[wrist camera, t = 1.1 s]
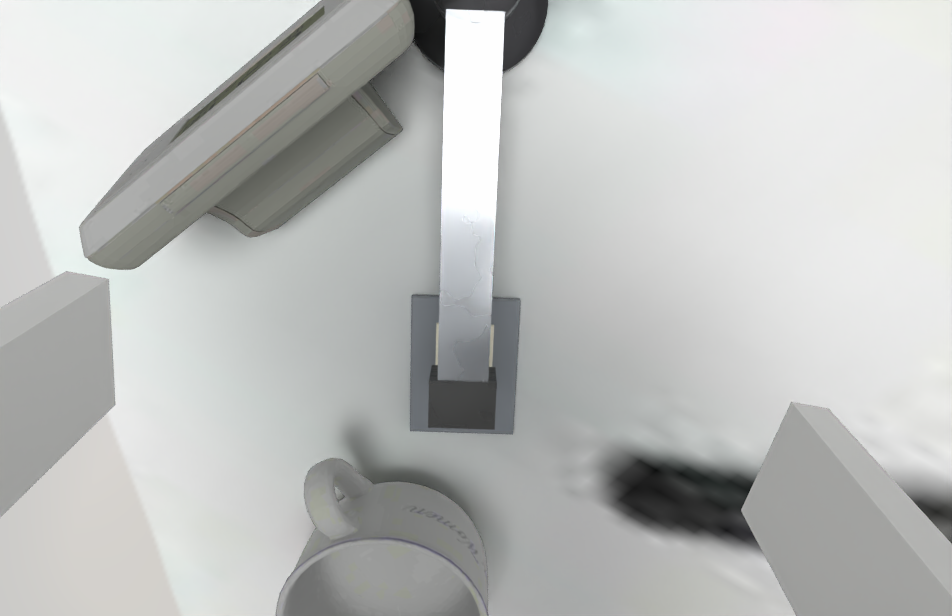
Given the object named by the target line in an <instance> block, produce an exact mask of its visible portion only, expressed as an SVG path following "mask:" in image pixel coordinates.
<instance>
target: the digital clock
mask: <svg viewBox="0 0 952 616" xmlns="http://www.w3.org/2000/svg"><path fill="white" fill-rule="evenodd" d="M414 28H415V26H414V14H413V10H412V7H411V4H410V2H409V0H321V1H320V2H319V3H318V4H316V5H315V6H314V7H313V8H312V9H311V10H309V11H308V12H307V13H306V14H305V15H303V16H302V17H301V18H300V19H299V20H298V21H296V22H295V23H294V24H293V25H292V26H290V27H289V28H288V29H287V30H286V31H284V32H283V33H282V34H281V35H280V36H279V37H277V38H276V39H275V40H274V41H273V42H271V43H270V44H269V45H268V46H267V47H266V48H264V49H263V50H262V51H261V52H260V53H258V54H257V55H256V56H255V57H254V58H252V59H251V60H250V61H249V62H248V63H247V64H245V65H244V66H243V67H242V68H241V69H239V70H238V71H237V72H236V73H235V74H233V75H232V76H231V77H230V78H229V79H228V80H226V81H225V82H224V83H223V84H222V85H220V86H219V87H218V88H217V89H216V90H215V91H213V92H212V93H211V94H210V95H209V96H207V97H206V98H205V99H204V100H203V101H201V102H200V103H199V104H198V105H197V106H196V107H194V108H193V109H192V110H191V111H190V112H188V113H187V114H186V115H185V116H184V117H183V118H181V119H180V120H179V121H178V122H177V123H175V124H174V125H173V126H172V127H171V128H169V129H168V130H167V131H166V132H165V133H164V134H162V135H161V136H160V137H159V138H158V139H156V140H155V141H154V142H153V143H152V144H151V145H149V146H148V147H147V148H146V149H145V150H144V151H143V152H142V153H141V155H139V156H138V157H137V158H136V160H135V161H134V162H133V163H132V164H131V165H130V166H129V168H128V169H127V170H126V171H125V172H124V173H123V175H122V176H121V177H120V178H119V179H118V181H117V182H116V183H115V184H114V185H113V186H112V188H111V189H110V190H109V191H108V192H107V194H106V195H105V196H104V197H103V198H102V199H101V201H100V202H99V203H98V204H97V205H96V206H95V208H94V209H93V210H92V211H91V212H90V214H89V215H88V216H87V217H86V218H85V220H84V221H83V222H82V223H81V225H80V227H79V230H80V237H81V243H82V247H83V252H84V256H85V258H88V260H89V261H91V262H93V263H94V264H96V265H99V266H102V267H105V268H110V269H119V270H129V269H135V268H137V267H139V266H140V265H141V264H143V263H144V262H145V261H147V260H148V259H149V258H150V257H152V256H153V255H154V254H155V253H157V252H158V251H159V250H160V249H162V248H163V247H164V246H165V245H167V244H168V243H169V242H170V241H172V240H173V239H174V238H175V237H177V236H178V235H179V234H180V233H182V232H183V231H184V230H185V229H187V228H188V227H189V226H190V225H192V224H193V223H194V222H195V221H196V220H198V219H199V218H200V217H201V216H203V215H204V214H205V213H206V212H207V213H209V214H212V215H214V216H216V217H218V218H220V219H222V220H224V221H226V222H228V223H229V224H231V225H232V226H234V227H235V228H236V229H237V230H238V231H240V232H241V233H242V234H244V235H245V236H248V237H257V236H260V235H262V234H265V233H267V232H270V231H272V230H275V229H278V228H279V227H280V226H281V225H283V224H284V223H285V222H287V221H288V220H289V219H290V218H292V217H293V216H294V215H295V214H297V213H298V212H299V211H301V210H302V209H303V208H304V207H306V206H307V205H308V204H309V203H311V202H312V201H313V200H315V199H316V198H317V197H318V196H320V195H321V194H322V193H323V192H325V191H326V190H327V189H329V188H330V187H331V186H332V185H334V184H335V183H336V182H337V181H339V180H340V179H341V178H343V177H344V176H345V175H346V174H348V173H349V172H350V171H351V170H353V169H354V168H355V167H357V166H358V165H359V164H360V163H362V162H363V161H364V160H365V159H367V158H368V157H369V156H371V155H372V154H373V153H374V152H376V151H377V150H378V149H379V148H381V147H382V146H383V145H385V144H386V143H387V142H388V141H390V140H391V139H392V138H393V137H395V136H396V135H397V134H399V133H400V132H401V131H402V130H403V128H402V126H401V125H400V123H399V122H398V121H397V119H396V118H395V117H394V115H393V114H392V113H391V111H390V110H389V108H388V107H387V106H386V104H385V103H384V102H383V100H382V99H381V98H380V96H379V95H378V94H377V92H376V91H375V90H374V88H373V87H372V85H371V84H370V83H369V81H370V80H371V79H372V78H373V77H375V76H376V75H377V74H378V73H379V72H381V71H382V70H383V69H384V68H386V67H387V66H388V65H389V64H390V63H392V62H393V61H394V60H395V59H397V58H398V57H399V56H400V55H401V54H402V53H404V52H405V51H406V50H407V49H408V48H409V47H410V45H411V44H412V42H413V38H414Z"/></svg>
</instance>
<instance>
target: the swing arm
mask: <svg viewBox="0 0 952 616" xmlns="http://www.w3.org/2000/svg"><path fill="white" fill-rule="evenodd" d="M434 2H435V5H436V7H437V9H438V10H439V12H440V13H441V15H442V16H443V17H444V18H445V19H446V34H445V77H444V121H443V164H442V207H441V251H440V294H439V338H438V365H432V367H431V372H430V377H429V401H428V428H456V429H487V430H495V411H496V391H497V379H496V369H495V367H489V356H490V333H491V311H492V288H493V266H494V244H495V221H496V199H497V176H498V154H499V131H500V109H501V87H502V64H503V42H504V22H505V21H506V20H508V18H509V17H510V16H511V15H512V14H513V12H514V11H515V9H516V7H517V5H518V3H519V0H434Z"/></svg>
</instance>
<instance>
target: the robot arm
mask: <svg viewBox="0 0 952 616" xmlns="http://www.w3.org/2000/svg"><path fill="white" fill-rule="evenodd" d="M114 406H115V388H114V369H113V349H112V330H111V311H110V292H109V279H106V278H101V277H95V276H90V275H84V274H79V273H73V272H68V271H66V272H64V273H62V274H60V275H59V276H57V277H55V278H53V279H51V280H50V281H48V282H46V283H44V284H42V285H41V286H39V287H37V288H35V289H33V290H31V291H30V292H28V293H26V294H24V295H23V296H21V297H19V298H17V299H15V300H13V301H11V302H10V303H8V304H6V305H4V306H3V307H1V308H0V517H1V516H2V515H3V514H4V513H5V512H6V511H7V510H8V509H9V508H10V507H11V506H13V505H14V503H16V502H17V501H18V500H19V498H21V497H22V496H23V495H24V494H25V493H26V492H27V491H28V490H29V489H30V488H31V487H32V486H33V485H34V484H35V483H36V482H37V481H38V480H39V479H40V478H41V477H42V476H43V475H44V474H45V473H46V472H47V471H48V470H49V469H50V468H51V467H52V466H53V465H54V464H55V463H56V462H57V461H58V460H59V459H60V458H61V457H62V456H64V454H66V452H67V451H69V450H70V449H71V448H72V447H73V446H74V445H75V444H76V443H77V442H78V441H79V440H80V439H81V438H82V437H83V436H84V435H85V434H86V433H87V432H88V431H89V430H90V429H91V428H92V427H93V426H94V425H95V424H96V423H97V422H98V421H99V420H100V419H101V418H102V417H103V416H104V415H105V414H106V413H107V412H108V411H109V410H110V409H111V408H112V407H114ZM741 512H742V514H743V515H744V517H745V519H746V521H747V523H748V525H749V527H750V529H751V531H752V533H753V534H754V536H755V538H756V540H757V542H758V544H759V546H760V548H761V550H762V551H763V553H764V555H765V557H766V559H767V561H768V563H769V565H770V567H771V568H772V570H773V572H774V574H775V576H776V578H777V580H778V582H779V584H780V585H781V587H782V589H783V591H784V593H785V595H786V597H787V599H788V601H789V603H790V604H791V606H792V608H793V610H794V612H795V614H796V616H952V544H951V543H950V542H949V541H948V539H947V538H946V537H945V536H944V535H943V534H942V533H941V532H940V531H939V530H938V528H937V527H936V526H935V525H934V524H933V523H932V522H931V521H930V520H929V519H928V517H927V516H926V515H925V514H924V513H923V512H922V511H921V510H920V509H919V508H918V506H917V505H916V504H915V503H914V502H913V501H912V500H911V499H910V498H909V497H908V495H907V494H906V493H905V492H904V491H903V490H902V489H901V488H900V487H899V486H898V484H897V483H896V482H895V481H894V480H893V479H892V478H891V477H890V476H889V475H888V473H887V472H886V471H885V470H884V469H883V468H882V467H881V466H880V465H879V464H878V462H877V461H876V460H875V459H874V458H873V457H872V456H871V455H870V454H869V453H868V451H867V450H866V449H865V448H864V447H863V446H862V445H861V444H860V443H859V442H858V440H857V439H856V438H855V437H854V436H853V435H852V434H851V433H850V432H849V431H848V429H847V428H846V427H845V426H844V425H843V424H842V423H841V422H840V421H839V420H838V418H837V417H836V416H835V415H834V414H833V413H832V412H831V411H830V410H829V409H827V408H822V407H816V406H811V405H805V404H800V403H794V402H791V404H790V406H789V408H788V410H787V412H786V415H785V417H784V419H783V421H782V423H781V425H780V428H779V430H778V432H777V434H776V436H775V438H774V440H773V443H772V445H771V447H770V449H769V451H768V453H767V455H766V458H765V460H764V462H763V464H762V466H761V468H760V470H759V473H758V475H757V477H756V479H755V481H754V483H753V486H752V488H751V490H750V492H749V494H748V496H747V498H746V501H745V503H744V505H743V507H742V509H741Z"/></svg>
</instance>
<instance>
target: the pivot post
mask: <svg viewBox="0 0 952 616" xmlns="http://www.w3.org/2000/svg"><path fill="white" fill-rule="evenodd" d="M409 2H410V4H411V7H412V10H413V14H414V26H415V28H414V39H415V41H416V43H417V44H418V46H419V48H420V49H421V50H422V52H423V53H424V54H425V56H426V57H427V58H428V59H429V60H430V61H431V62H432V63H434V64H435V65H436V66H438V67H439V68H440V69H442V70H444V71H445V34H446V19H445V18H444V17H443V16H442V15H441V13H440V12H439V10H438V9H437V7H436V5H435V2H434V0H409ZM547 7H548V0H519V3H518V5H517V7H516V9H515V11H514V12H513V14H512V15H511V16H510V17H509V18H508V20H506V21H505V22H504V42H503V64H502V74H503V73H505V72H507V71H509V70H510V69H512V68H513V67H515V66H516V65H518V64H519V63H520V62H521V61H522V60H523V59H524V58H525V57H526V56H527V55H528V54H529V52H530V51H531V50H532V48H533V47H534V45H535V43H536V42H537V40H538V38H539V36H540V34H541V32H542V29H543V26H544V23H545V19H546V15H547Z"/></svg>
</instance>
